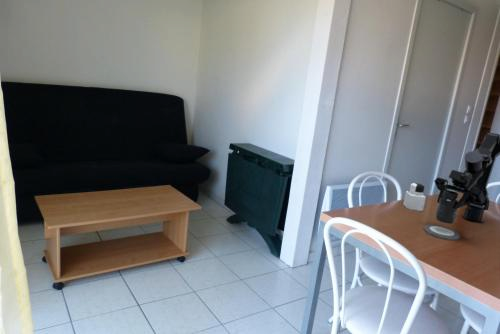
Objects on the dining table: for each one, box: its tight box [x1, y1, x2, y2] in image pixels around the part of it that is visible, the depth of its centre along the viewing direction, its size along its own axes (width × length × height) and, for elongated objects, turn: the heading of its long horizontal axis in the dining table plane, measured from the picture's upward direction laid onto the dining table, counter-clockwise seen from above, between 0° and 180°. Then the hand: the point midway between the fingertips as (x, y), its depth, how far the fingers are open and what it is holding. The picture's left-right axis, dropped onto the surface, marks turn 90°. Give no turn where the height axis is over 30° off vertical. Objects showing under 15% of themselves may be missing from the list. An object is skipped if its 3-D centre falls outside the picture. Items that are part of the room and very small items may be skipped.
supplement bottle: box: [434, 190, 459, 225], centre depth 144 cm, size 7×7×12 cm
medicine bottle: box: [402, 182, 427, 212], centre depth 175 cm, size 7×7×12 cm
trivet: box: [423, 224, 461, 241], centre depth 146 cm, size 13×13×1 cm
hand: (445, 205), depth 143 cm, fingers closed on supplement bottle, 7 cm apart
